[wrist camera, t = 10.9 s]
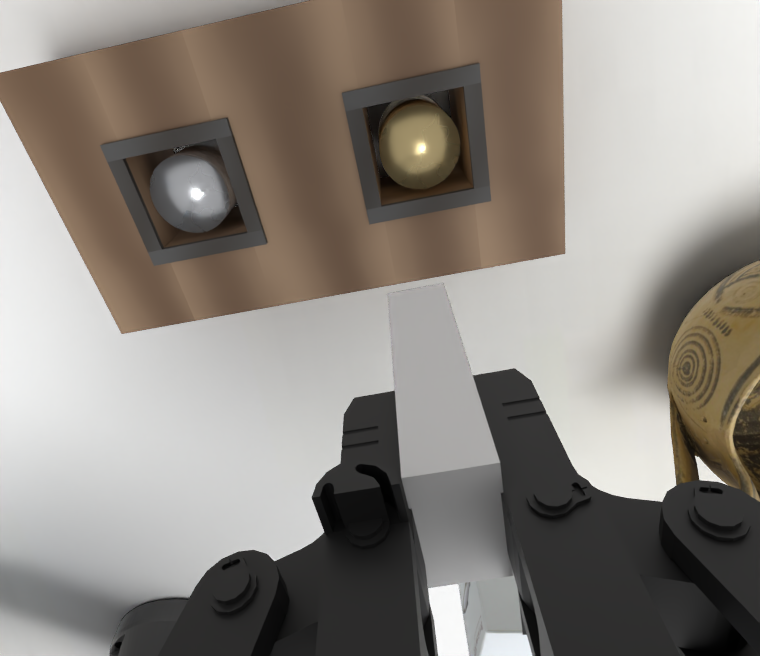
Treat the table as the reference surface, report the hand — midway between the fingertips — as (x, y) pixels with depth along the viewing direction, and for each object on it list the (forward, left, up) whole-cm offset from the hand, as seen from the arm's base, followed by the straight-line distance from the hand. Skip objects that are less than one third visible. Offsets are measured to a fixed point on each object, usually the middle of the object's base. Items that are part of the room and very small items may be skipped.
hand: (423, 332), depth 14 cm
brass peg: (+1, +2, -20) cm, 20 cm away
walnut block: (-5, +2, -20) cm, 21 cm away
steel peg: (-11, +2, -20) cm, 23 cm away
